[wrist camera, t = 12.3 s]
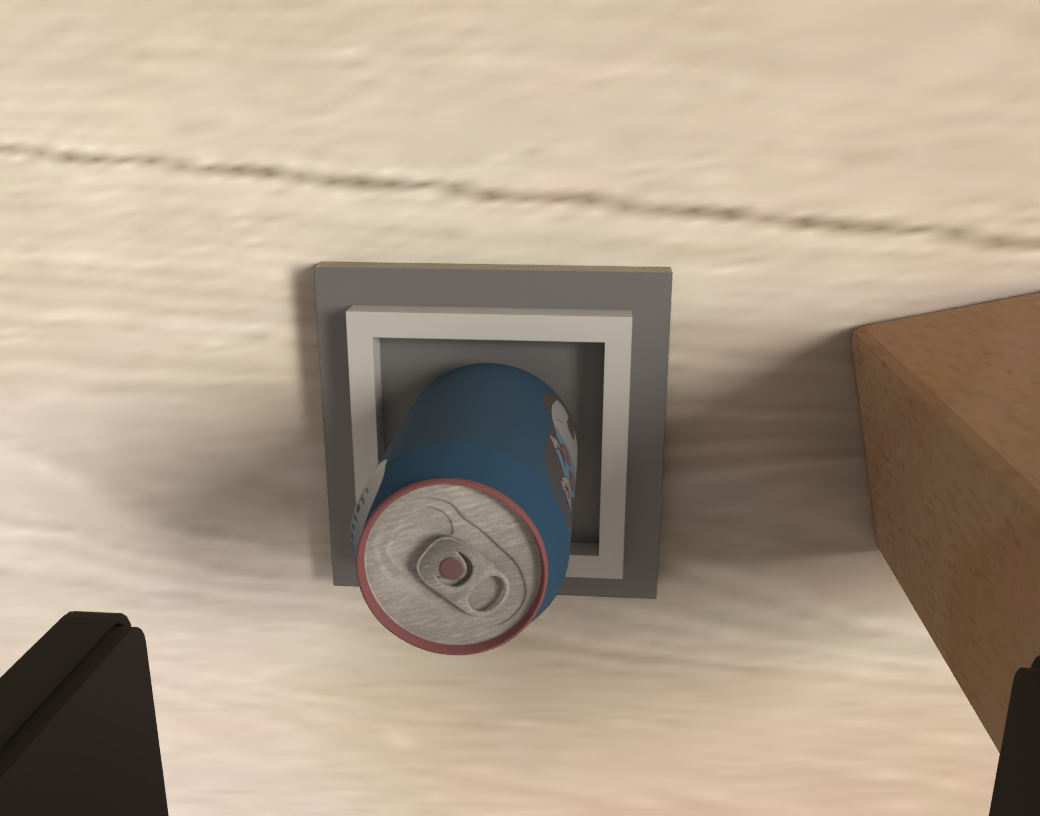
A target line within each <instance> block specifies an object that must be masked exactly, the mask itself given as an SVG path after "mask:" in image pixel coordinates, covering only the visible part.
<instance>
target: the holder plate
mask: <svg viewBox="0 0 1040 816" xmlns="http://www.w3.org/2000/svg"><path fill="white" fill-rule="evenodd" d="M314 277H315V293H316V309H317V325H318V341H319V357H320V373H321V389H322V405H323V421H324V437H325V453H326V469H327V485H328V501H329V517H330V533H331V549H332V565H333V581H334V585H335V586H359V582H358V578H357V571H356V567H355V564H354V560H353V556H352V550H351V539H350V534H351V522H352V517H353V512H354V509H355V506H356V503H357V501H358V498H359V496H360V494H361V492H362V491H363V489H364V487H365V485H366V484H367V482H368V480H369V479H370V477H371V475H372V474H373V472H374V470H375V469H376V467H377V465H378V464H379V462H380V460H381V459H382V457H383V455H384V454H385V452H386V450H387V449H388V447H389V445H390V443H391V442H392V440H393V438H394V437H395V435H396V433H397V432H398V430H399V428H400V427H401V425H402V423H403V422H404V420H405V418H406V417H407V415H408V413H409V412H410V410H411V408H412V407H413V405H414V403H415V402H416V400H417V398H418V397H419V396H420V394H421V393H422V392H423V391H424V390H425V389H426V388H427V387H428V386H429V385H430V384H431V383H432V382H433V381H435V380H436V379H437V378H439V377H440V376H442V375H444V374H445V373H447V372H449V371H452V370H454V369H456V368H459V367H462V366H466V365H471V364H477V363H498V364H505V365H510V366H513V367H517V368H520V369H522V370H524V371H527V372H529V373H531V374H533V375H534V376H536V377H538V378H539V379H541V380H542V381H543V382H545V383H546V384H547V385H548V386H550V387H551V388H552V389H553V390H554V391H555V392H556V394H557V395H558V396H559V397H560V398H561V400H562V401H563V402H564V404H565V406H566V407H567V409H568V411H569V413H570V415H571V417H572V420H573V422H574V425H575V429H576V433H577V440H578V458H577V470H576V482H575V494H574V507H573V519H572V531H571V543H570V555H569V563H568V568H567V572H566V575H565V578H564V581H563V583H562V585H561V587H560V589H559V591H558V593H557V595H576V596H600V597H624V598H648V599H656V595H657V574H658V554H659V534H660V514H661V494H662V473H663V453H664V433H665V413H666V393H667V372H668V352H669V332H670V312H671V292H672V270H671V267H623V266H560V265H497V264H434V263H371V262H321V263H319V264H318V265H316V266H314ZM359 587H360V586H359Z"/></svg>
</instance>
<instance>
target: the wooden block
mask: <svg viewBox="0 0 1040 816" xmlns="http://www.w3.org/2000/svg"><path fill="white" fill-rule="evenodd" d="M851 344H852V352H853V359H854V367H855V375H856V383H857V391H858V399H859V406H860V414H861V422H862V430H863V438H864V446H865V454H866V461H867V469H868V477H869V485H870V493H871V501H872V508H873V516H874V524H875V532H876V540H877V546H878V548H879V550H880V551H881V553H882V555H883V556H884V558H885V560H886V561H887V563H888V565H889V566H890V568H891V570H892V572H893V573H894V575H895V577H896V578H897V580H898V582H899V583H900V585H901V587H902V588H903V590H904V592H905V594H906V595H907V597H908V599H909V600H910V602H911V604H912V605H913V607H914V609H915V610H916V612H917V614H918V616H919V617H920V619H921V621H922V622H923V624H924V626H925V627H926V629H927V631H928V632H929V634H930V636H931V638H932V639H933V641H934V643H935V644H936V646H937V648H938V649H939V651H940V653H941V655H942V656H943V658H944V660H945V661H946V663H947V665H948V666H949V668H950V670H951V671H952V673H953V675H954V677H955V678H956V680H957V682H958V683H959V685H960V687H961V688H962V690H963V692H964V693H965V695H966V697H967V699H968V700H969V702H970V704H971V705H972V707H973V709H974V710H975V712H976V714H977V715H978V717H979V719H980V721H981V722H982V724H983V726H984V727H985V729H986V731H987V732H988V734H989V736H990V737H991V739H992V741H993V743H994V744H995V746H996V748H997V749H998V751H999V753H1000V751H1001V745H1002V740H1003V734H1004V728H1005V723H1006V717H1007V712H1008V706H1009V700H1010V695H1011V689H1012V684H1013V679H1014V676H1015V673H1016V672H1017V670H1018V669H1020V668H1021V667H1024V668H1031V665H1032V663H1033V661H1034V659H1035V658H1036V657H1037V656H1039V655H1040V293H1034V294H1029V295H1024V296H1018V297H1013V298H1008V299H1003V300H997V301H992V302H987V303H981V304H976V305H971V306H966V307H960V308H955V309H950V310H944V311H939V312H934V313H929V314H923V315H918V316H913V317H907V318H902V319H897V320H892V321H886V322H881V323H876V324H871V325H865V326H862V327H860V328H858V329H857V330H855V331H854V332H853V336H852V339H851Z"/></svg>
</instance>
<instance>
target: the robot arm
mask: <svg viewBox="0 0 1040 816" xmlns="http://www.w3.org/2000/svg"><path fill="white" fill-rule="evenodd" d="M0 816H168V808H167V801H166V793H165V785H164V777H163V770H162V762H161V754H160V747H159V739H158V731H157V724H156V716H155V708H154V701H153V693H152V685H151V678H150V670H149V662H148V655H147V647H146V640H145V636H144V633H143V631H142V630H141V629H140V628H138V627H131V623H130V621H129V620H128V618H127V616H125V615H124V614H122V613H104V612H82V611H73V612H69V613H67V614H66V615H64V616H63V617H62V618H61V619H60V620H59V621H58V622H57V623H56V624H55V625H54V626H53V627H52V628H51V629H50V630H49V631H48V632H47V633H46V634H45V635H44V636H43V637H41V638H40V639H39V640H38V641H37V642H36V643H35V644H34V645H33V646H32V647H31V648H30V649H29V650H28V651H27V652H26V653H25V654H24V655H23V656H22V657H21V658H20V659H19V660H18V661H17V662H16V663H15V664H14V665H13V666H12V667H11V668H10V669H9V670H8V671H7V672H6V673H5V674H4V675H3V676H2V677H1V678H0ZM989 816H1040V655H1039V656H1037V657H1036V658H1035V659H1034V661H1033V663H1032V665H1031V668H1024V667H1021V668H1020V669H1018V670H1017V672H1016V673H1015V676H1014V679H1013V684H1012V689H1011V695H1010V700H1009V706H1008V712H1007V717H1006V723H1005V728H1004V734H1003V740H1002V745H1001V751H1000V756H999V762H998V768H997V773H996V779H995V784H994V790H993V796H992V801H991V807H990V812H989Z"/></svg>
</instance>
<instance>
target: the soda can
mask: <svg viewBox="0 0 1040 816" xmlns="http://www.w3.org/2000/svg"><path fill="white" fill-rule="evenodd" d="M577 458H578V440H577V433H576V429H575V425H574V422H573V420H572V417H571V415H570V413H569V411H568V409H567V407H566V406H565V404H564V402H563V401H562V400H561V398H560V397H559V396H558V395H557V394H556V392H555V391H554V390H553V389H552V388H551V387H550V386H548V385H547V384H546V383H545V382H543V381H542V380H541V379H539V378H538V377H536V376H534V375H533V374H531V373H529V372H527V371H524V370H522V369H520V368H517V367H513V366H510V365H505V364H498V363H477V364H471V365H466V366H462V367H459V368H456V369H454V370H452V371H449V372H447V373H445V374H444V375H442V376H440V377H439V378H437V379H436V380H435V381H433V382H432V383H431V384H430V385H429V386H428V387H427V388H426V389H425V390H424V391H423V392H422V393H421V394H420V396H419V397H418V398H417V400H416V402H415V403H414V405H413V407H412V408H411V410H410V412H409V413H408V415H407V417H406V418H405V420H404V422H403V423H402V425H401V427H400V428H399V430H398V432H397V433H396V435H395V437H394V438H393V440H392V442H391V443H390V445H389V447H388V449H387V450H386V452H385V454H384V455H383V457H382V459H381V460H380V462H379V464H378V465H377V467H376V469H375V470H374V472H373V474H372V475H371V477H370V479H369V480H368V482H367V484H366V485H365V487H364V489H363V491H362V492H361V494H360V496H359V498H358V501H357V503H356V506H355V509H354V512H353V517H352V522H351V534H350V539H351V550H352V556H353V560H354V564H355V567H356V571H357V578H358V582H359V586H360V589H361V592H362V595H363V597H364V599H365V601H366V603H367V605H368V607H369V609H370V610H371V612H372V613H373V614H374V616H375V617H376V618H377V619H378V621H379V622H380V623H381V624H382V625H383V626H384V627H386V628H387V629H388V630H389V631H390V632H392V633H393V634H394V635H396V636H397V637H399V638H400V639H402V640H404V641H405V642H407V643H409V644H411V645H413V646H416V647H418V648H421V649H424V650H427V651H430V652H434V653H439V654H446V655H469V654H476V653H481V652H485V651H488V650H491V649H494V648H496V647H498V646H500V645H503V644H505V643H506V642H508V641H510V640H511V639H513V638H514V637H515V636H517V635H518V634H519V633H520V632H521V631H523V630H524V629H525V628H526V627H527V625H528V624H529V623H531V622H532V621H533V620H535V619H536V618H537V617H538V616H539V615H540V614H541V613H542V612H543V611H544V610H545V609H546V608H547V607H548V606H549V605H550V603H551V602H552V601H553V599H554V598H555V596H556V595H557V593H558V591H559V589H560V587H561V585H562V583H563V581H564V578H565V575H566V572H567V568H568V563H569V555H570V543H571V531H572V519H573V507H574V494H575V482H576V470H577Z"/></svg>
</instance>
